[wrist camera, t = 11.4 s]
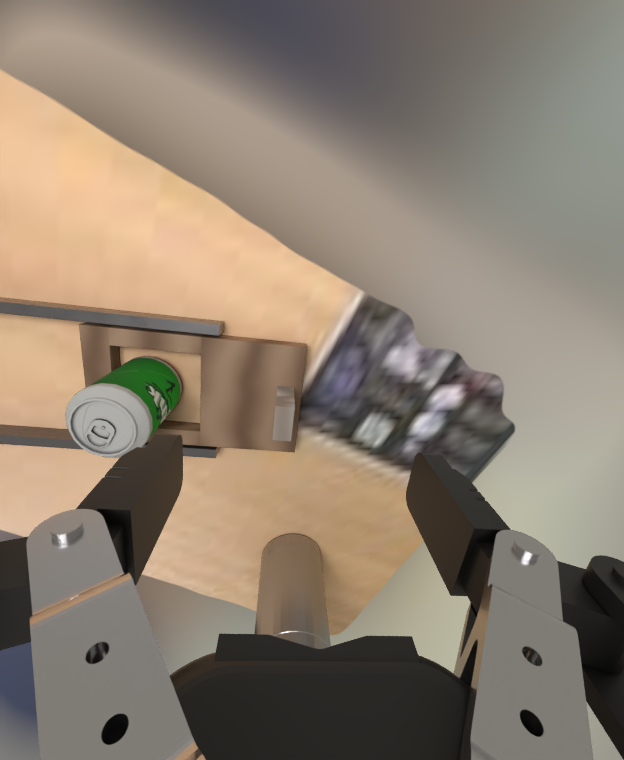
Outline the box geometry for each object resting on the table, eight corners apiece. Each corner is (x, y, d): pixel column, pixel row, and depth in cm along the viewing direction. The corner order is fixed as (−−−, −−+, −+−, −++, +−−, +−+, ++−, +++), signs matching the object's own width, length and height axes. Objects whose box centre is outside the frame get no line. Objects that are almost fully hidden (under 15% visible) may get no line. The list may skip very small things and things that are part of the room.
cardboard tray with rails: (306, 343, 40) (310, 362, 33) (294, 444, 45) (295, 480, 37) (89, 321, 38) (39, 336, 30) (100, 430, 42) (59, 466, 35)
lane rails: (223, 321, 39) (219, 325, 37) (219, 448, 45) (215, 458, 42) (-97, 286, 36) (-124, 288, 33) (-59, 428, 41) (-79, 438, 39)
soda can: (111, 391, 41) (44, 440, 30) (137, 341, 39) (76, 373, 28) (168, 420, 43) (124, 477, 32) (195, 374, 41) (160, 416, 30)
